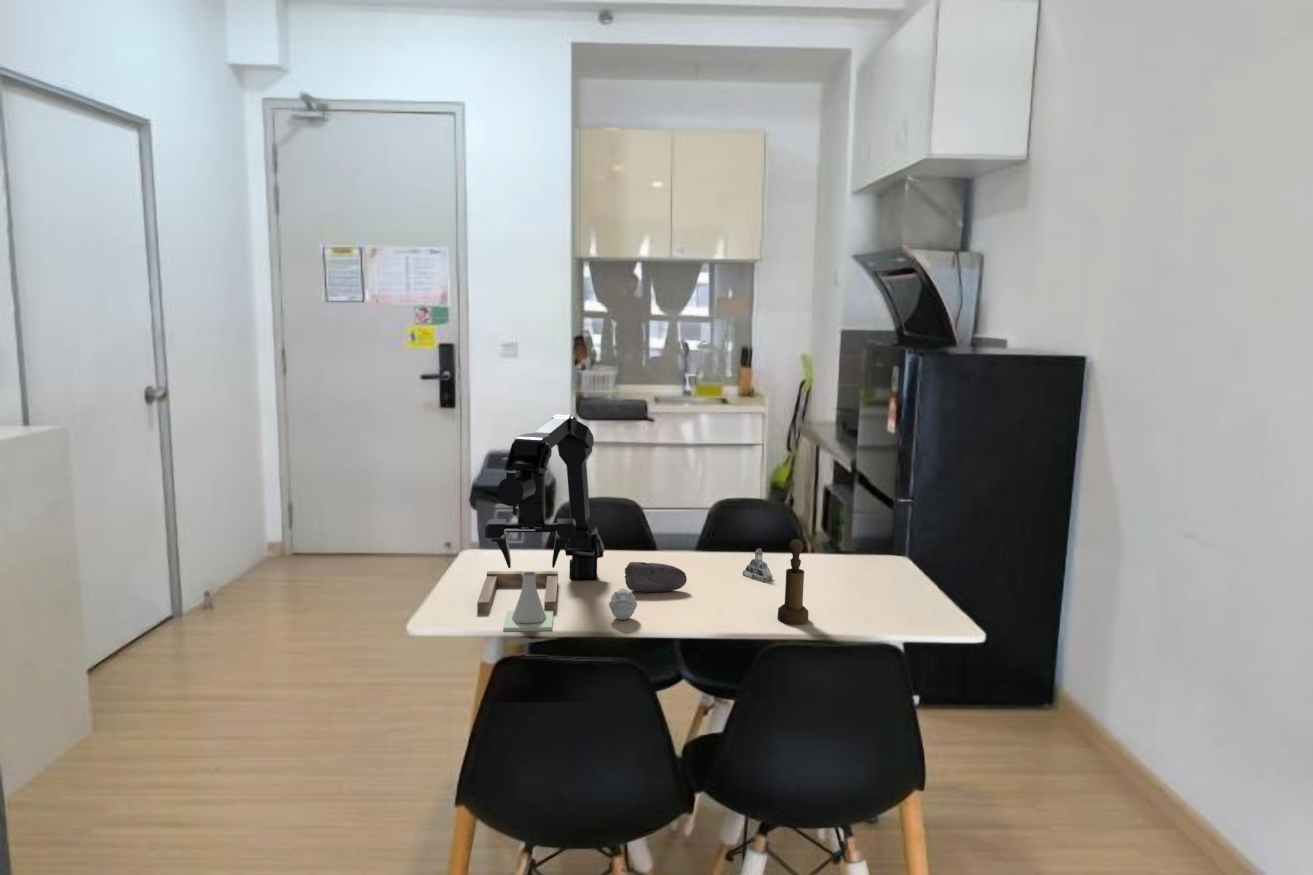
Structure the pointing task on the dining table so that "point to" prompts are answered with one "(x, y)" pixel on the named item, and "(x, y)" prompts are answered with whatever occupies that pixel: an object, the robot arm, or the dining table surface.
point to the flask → (529, 601)
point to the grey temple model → (758, 568)
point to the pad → (539, 626)
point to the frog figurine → (623, 604)
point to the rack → (516, 579)
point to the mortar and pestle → (794, 590)
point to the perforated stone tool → (653, 577)
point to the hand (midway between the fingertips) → (531, 567)
